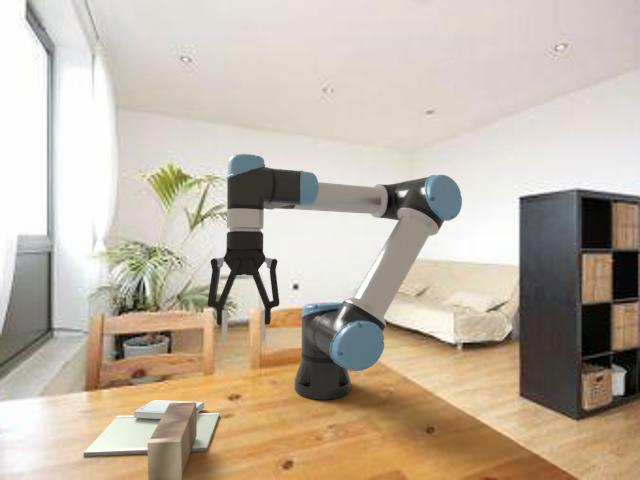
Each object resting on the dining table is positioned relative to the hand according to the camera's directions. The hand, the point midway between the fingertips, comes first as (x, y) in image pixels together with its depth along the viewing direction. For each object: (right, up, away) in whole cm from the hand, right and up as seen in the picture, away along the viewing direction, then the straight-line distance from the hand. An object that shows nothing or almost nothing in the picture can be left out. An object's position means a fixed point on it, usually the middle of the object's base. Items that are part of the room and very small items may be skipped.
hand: (243, 340), depth 78 cm
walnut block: (-11, -14, -5) cm, 19 cm away
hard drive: (-18, -18, +6) cm, 26 cm away
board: (-17, -19, -2) cm, 26 cm away
